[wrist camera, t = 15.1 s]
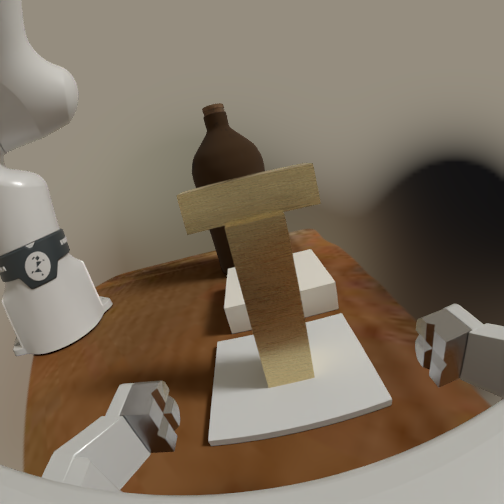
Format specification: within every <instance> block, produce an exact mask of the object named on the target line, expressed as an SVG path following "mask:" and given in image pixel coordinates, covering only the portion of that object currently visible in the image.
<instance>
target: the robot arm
mask: <svg viewBox="0 0 504 504" xmlns="http://www.w3.org/2000/svg"><path fill="white" fill-rule="evenodd" d="M77 105H78V87H77V84H76V81H75V79H74V78H73V76H72V75H71V74H70V72H69V71H68V70H66V69H65V68H63V67H61V66H58V65H54V64H52V63H50V62H48V61H47V60H45V59H43V58H42V57H41V56H40V55H39V54H38V53H37V52H35V50H34V49H33V48H32V46H31V45H30V43H29V41H28V39H27V36H26V33H25V28H24V23H23V14H22V0H0V275H1V279H2V281H3V282H5V292H4V294H3V299H2V304H3V307H4V309H5V312H6V314H7V316H8V319H9V321H10V323H11V325H12V327H13V329H14V332H15V334H16V336H17V337H16V341H15V344H14V348H13V351H14V353H15V355H16V356H20V355H25V354H45V353H49V352H52V351H55V350H58V349H61V348H63V347H65V346H67V345H69V344H71V343H73V342H75V341H76V340H78V339H80V338H81V337H83V336H84V335H85V334H87V333H88V332H89V331H90V330H92V329H93V328H94V327H95V326H96V325H97V324H98V322H99V321H100V320H101V318H102V316H103V314H104V312H105V311H107V310H108V309H109V308H110V307H111V306H112V302H111V300H110V299H109V298H105V297H100V296H99V295H98V293H97V291H96V289H95V287H94V284H93V282H92V280H91V278H90V275H89V273H88V271H87V268H86V266H85V264H84V262H83V261H80V260H79V259H76V258H74V257H73V256H71V255H70V254H69V250H70V249H69V246H68V243H67V238H66V236H65V235H64V232H63V230H62V229H60V228H59V225H58V222H57V218H56V215H55V212H54V209H53V204H52V201H51V197H50V193H49V189H48V186H47V184H46V182H45V180H44V179H43V178H42V177H41V176H39V175H38V174H36V173H33V172H29V171H24V170H15V169H8V168H6V166H5V163H4V159H3V156H4V155H5V154H6V153H7V152H9V151H12V150H14V149H16V148H18V147H21V146H24V145H26V144H29V143H31V142H33V141H36V140H39V139H42V138H44V137H46V136H48V135H50V134H51V133H53V132H55V131H57V130H58V129H60V128H62V127H64V126H65V125H67V124H69V123H70V121H71V120H72V118H73V116H74V114H75V112H76V109H77ZM416 331H417V332H418V333H419V334H420V335H419V336H418V338H417V340H416V341H415V351H416V355H417V358H418V360H419V363H420V364H421V365H422V367H424V368H427V369H430V373H429V376H430V377H431V378H432V380H433V381H434V382H435V383H436V385H437V386H438V387H441V386H443V385H446V384H448V383H450V382H452V381H454V380H457V379H459V378H460V379H461V380H463V381H465V382H467V383H470V384H472V385H474V386H476V387H479V388H481V389H483V390H486V391H488V392H490V393H493V394H495V395H497V396H500V397H502V399H501V401H500V402H498V403H497V404H495V405H494V406H492V407H490V408H489V409H487V410H485V411H484V412H482V413H481V414H479V415H477V416H475V417H474V418H472V419H470V420H469V421H467V422H465V423H463V424H461V425H459V426H458V427H456V428H454V429H452V430H450V431H448V432H446V433H444V434H442V435H440V436H438V437H436V438H434V439H432V440H430V441H428V442H425V443H423V444H421V445H419V446H416V447H414V448H412V449H409V450H407V451H405V452H402V453H400V454H397V455H395V456H392V457H389V458H387V459H384V460H381V461H379V462H376V463H373V464H370V465H367V466H364V467H361V468H358V469H354V470H351V471H348V472H344V473H341V474H337V475H333V476H330V477H326V478H322V479H317V480H313V481H309V482H304V483H299V484H294V485H289V486H283V487H278V488H271V489H265V490H257V491H249V492H240V493H229V494H215V495H147V494H133V493H123V492H122V491H121V490H120V489H121V488H122V487H123V486H124V485H125V484H126V482H127V481H128V480H129V479H130V478H131V477H132V475H133V474H134V473H135V472H136V471H137V470H138V468H139V467H140V466H141V465H142V464H143V463H144V461H145V460H146V459H147V458H148V457H149V455H150V453H159V452H174V451H175V445H176V440H177V435H176V433H175V432H174V431H175V430H176V429H177V428H178V427H179V424H180V411H179V408H178V405H177V403H176V401H175V399H173V398H172V397H170V396H168V393H169V388H168V386H167V385H166V383H165V382H164V381H151V382H138V383H127V384H121V385H120V386H119V387H118V389H117V392H116V394H115V396H114V398H113V400H112V402H111V405H110V407H109V409H108V411H107V413H106V416H101V417H100V418H99V419H97V420H96V421H95V422H93V423H92V424H91V425H90V426H88V427H87V428H86V429H84V430H83V431H82V432H80V433H79V434H78V435H76V436H75V437H74V438H72V439H71V440H70V441H68V442H67V443H66V444H64V445H63V446H61V447H60V448H59V449H57V450H56V451H55V452H54V453H53V455H52V457H51V459H50V461H49V463H48V465H47V467H46V469H45V471H44V473H43V475H42V478H41V477H38V476H34V475H31V474H27V473H24V472H21V471H18V470H15V469H12V468H8V467H6V466H3V465H0V504H504V326H499V325H493V324H488V323H487V324H485V325H483V324H482V323H481V322H480V321H479V320H477V319H476V318H475V317H474V316H472V315H471V314H470V313H468V312H467V311H466V310H465V309H463V308H462V307H461V306H460V305H458V304H453V305H450V306H449V307H446V308H444V309H442V310H440V311H437V312H435V313H432V314H430V315H427V316H425V317H422V318H420V319H418V321H417V323H416Z"/></svg>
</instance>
